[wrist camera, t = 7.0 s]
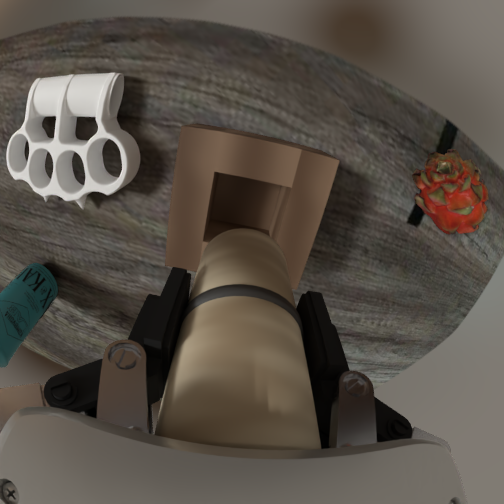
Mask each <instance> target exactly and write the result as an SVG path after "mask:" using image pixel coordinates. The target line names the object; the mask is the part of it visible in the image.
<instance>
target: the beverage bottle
mask: <svg viewBox="0 0 504 504" xmlns="http://www.w3.org/2000/svg"><path fill="white" fill-rule="evenodd" d="M26 267H27V266H26ZM26 267H25V268H26ZM25 268H24V269H25ZM24 269H23V271H21V273H20V274H19V275H18V276H17V277H16V278H15V279H14V278H13V279H14V280H13V279H12V280H13V281H12V280H11V282H10V284H9V283H8V284H9V285H8V284H7V285H8V286H5V287H6V288H5V289H4V290H3V291H2V292H1V293H0V367H6V366H7V365H8V363H9V361H10V359H11V358H12V356H13V355H14V353H15V352H16V350H17V349H18V347H19V346H20V344H21V343H22V342H23V341H24V339H25V340H26V336H28V334H29V333H30V331H32V328H33V329H34V325H35V324H36V323H38V322H39V321H38V320H39V319H41V317H42V316H43V315H44V313H45V312H46V311H47V309H48V308H49V307H50V304H51V303H53V301H54V299H55V298H56V297H57V293H58V287H57V283H56V281H55V279H54V277H53V275H52V274H51V272H50V271H49V270H48V269H47V268H46V267H44V266H43V265H41V264H38V263H33V264H29V266H28V267H27V268H26V269H25V270H24ZM51 305H52V304H51Z"/></svg>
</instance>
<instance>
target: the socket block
mask: <svg viewBox="0 0 504 504" xmlns="http://www.w3.org/2000/svg"><path fill="white" fill-rule="evenodd" d="M339 161H340V160H338V159H336V158H334V157H332V156H330V155H329V154H327V153H325V152H323V151H321V150H318V149H314V148H311V147H307V146H304V145H300V144H296V143H292V142H288V141H284V140H280V139H276V138H272V137H267V136H263V135H258V134H254V133H249V132H244V131H239V130H233V129H228V128H222V127H216V126H210V125H204V124H190V125H184V126H182V127H181V132H180V138H179V144H178V150H177V157H176V163H175V170H174V178H173V185H172V194H171V202H170V212H169V222H168V233H167V245H166V259H165V266H170V267H178V268H183V269H187V270H190V271H195V272H197V270H198V267H199V263H200V260H201V257H202V254H203V252H204V250H205V248H206V246H207V245H208V244H209V242H210V241H211V240H212V239H213V238H215V237H216V236H218V235H219V234H221V233H223V232H226V231H229V230H233V229H240V228H245V229H253V230H257V231H260V232H262V233H265V234H266V235H268V236H270V237H271V238H272V239H274V240H275V241H276V242H277V243H278V245H279V246H280V247H281V249H282V251H283V253H284V256H285V260H286V264H287V269H288V273H289V278H290V283H291V287H292V289H296V290H297V287H298V284H299V282H300V279H301V276H302V273H303V271H304V268H305V265H306V262H307V260H308V257H309V254H310V251H311V248H312V245H313V242H314V240H315V237H316V234H317V231H318V228H319V225H320V222H321V219H322V216H323V213H324V210H325V206H326V203H327V200H328V197H329V194H330V191H331V187H332V184H333V181H334V178H335V174H336V171H337V168H338V164H339Z"/></svg>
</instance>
